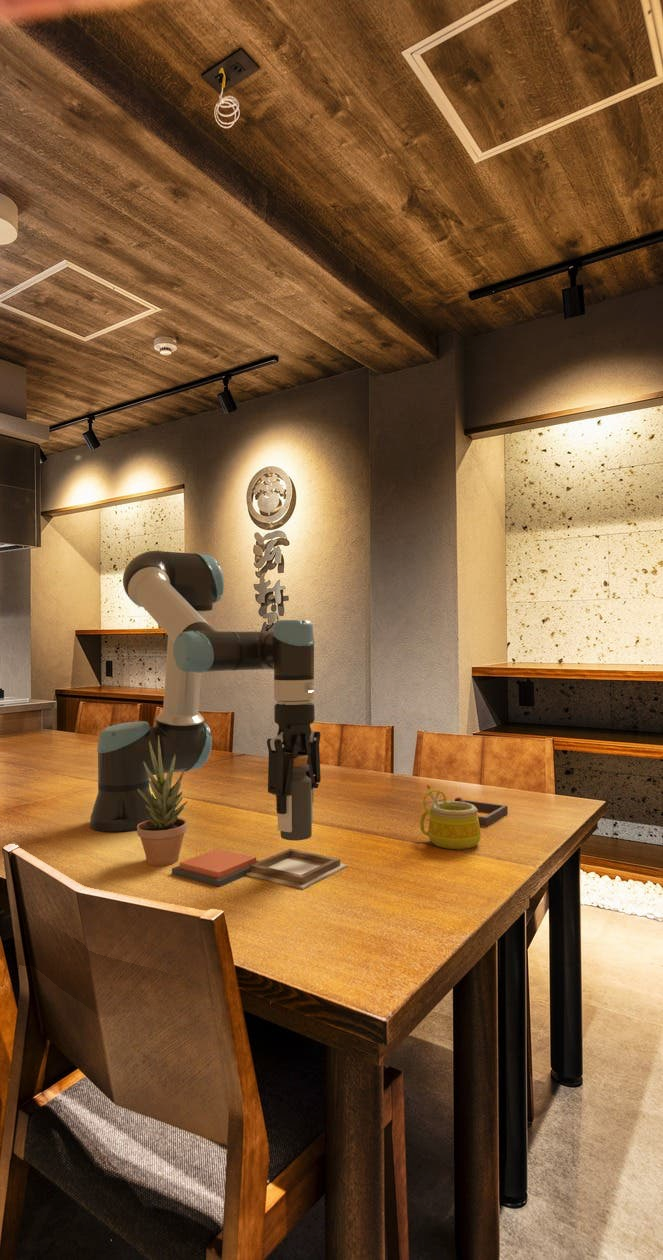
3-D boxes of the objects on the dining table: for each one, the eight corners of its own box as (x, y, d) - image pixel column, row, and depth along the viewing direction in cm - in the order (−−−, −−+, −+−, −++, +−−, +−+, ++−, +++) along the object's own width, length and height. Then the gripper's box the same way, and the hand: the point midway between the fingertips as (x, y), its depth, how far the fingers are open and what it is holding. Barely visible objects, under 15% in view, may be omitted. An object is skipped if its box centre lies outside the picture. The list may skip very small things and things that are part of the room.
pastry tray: (432, 818, 162) (432, 809, 162) (456, 806, 174) (455, 798, 174) (486, 826, 155) (486, 817, 155) (507, 813, 166) (507, 805, 166)
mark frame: (242, 874, 124) (242, 865, 124) (289, 853, 136) (289, 846, 136) (303, 889, 117) (303, 880, 117) (347, 866, 128) (347, 858, 128)
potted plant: (134, 857, 135) (133, 733, 135) (182, 850, 139) (181, 730, 139) (141, 872, 126) (140, 739, 126) (192, 865, 129) (191, 736, 130)
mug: (485, 840, 145) (485, 783, 145) (474, 855, 135) (473, 794, 135) (427, 833, 150) (427, 779, 150) (412, 847, 140) (411, 789, 140)
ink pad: (171, 873, 125) (171, 862, 125) (217, 856, 135) (217, 846, 135) (219, 886, 118) (219, 875, 118) (264, 867, 128) (263, 856, 128)
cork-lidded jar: (307, 841, 123) (306, 758, 123) (276, 840, 124) (275, 757, 124) (314, 832, 129) (314, 753, 129) (285, 831, 130) (284, 752, 130)
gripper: (278, 707, 117) (279, 842, 116) (338, 699, 132) (340, 818, 132) (245, 705, 121) (246, 835, 121) (307, 697, 137) (309, 813, 136)
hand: (295, 826), depth 126 cm, fingers closed on cork-lidded jar, 6 cm apart
